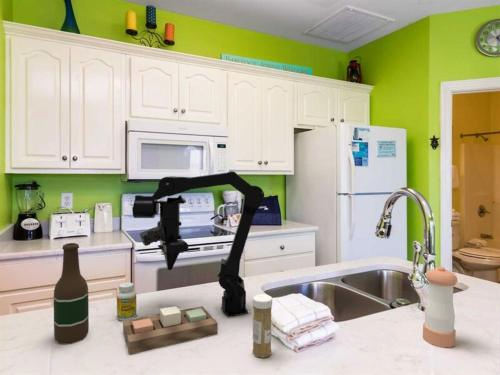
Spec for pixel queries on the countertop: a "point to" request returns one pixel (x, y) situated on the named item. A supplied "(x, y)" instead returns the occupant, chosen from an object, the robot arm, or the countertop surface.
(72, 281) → the beer bottle
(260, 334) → the sprinkles bottle
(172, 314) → the cream key
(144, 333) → the wooden tray
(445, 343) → the pepper shaker
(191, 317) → the sage key
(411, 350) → the countertop surface
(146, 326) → the terracotta key
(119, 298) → the supplement bottle
